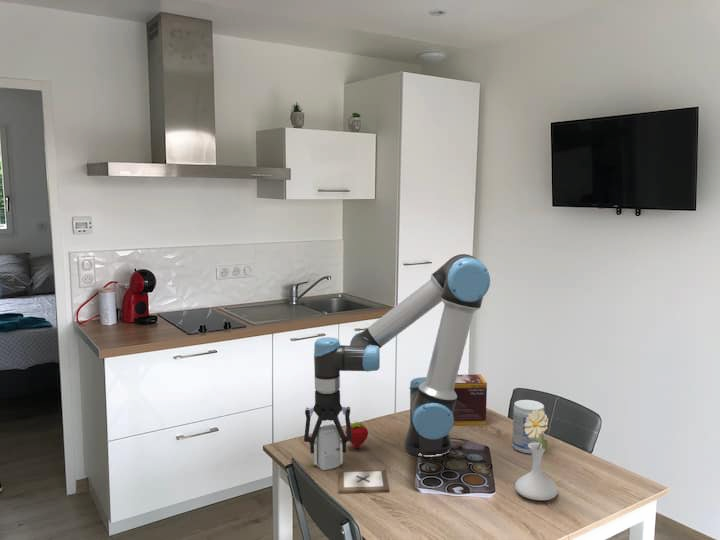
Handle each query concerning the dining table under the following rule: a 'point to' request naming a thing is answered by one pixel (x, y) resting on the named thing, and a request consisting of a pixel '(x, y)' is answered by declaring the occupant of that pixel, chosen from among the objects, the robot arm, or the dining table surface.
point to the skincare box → (328, 447)
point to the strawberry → (358, 434)
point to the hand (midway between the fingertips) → (328, 462)
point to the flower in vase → (536, 461)
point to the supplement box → (470, 400)
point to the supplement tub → (519, 419)
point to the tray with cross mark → (363, 481)
